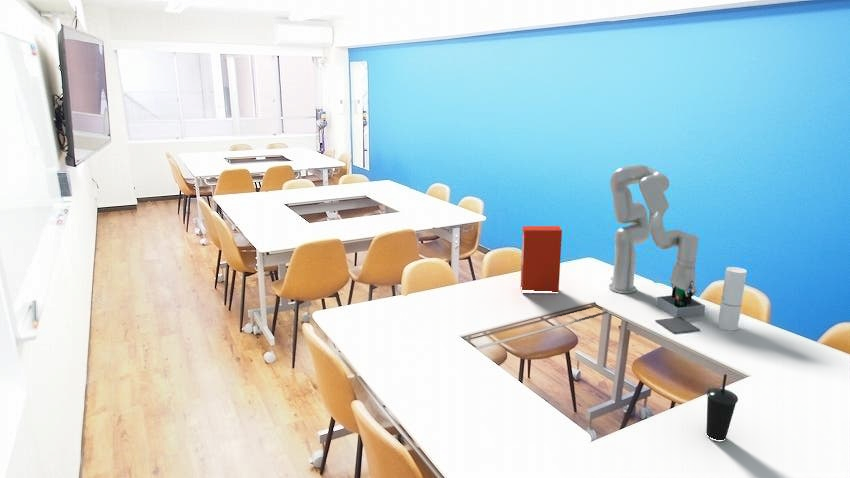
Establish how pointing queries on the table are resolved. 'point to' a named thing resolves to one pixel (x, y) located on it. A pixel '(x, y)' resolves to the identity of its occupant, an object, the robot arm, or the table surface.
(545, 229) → the file binder
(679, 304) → the soda can
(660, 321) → the mat
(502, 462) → the table surface
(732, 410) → the drinking cup
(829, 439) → the table surface
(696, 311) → the grey bin
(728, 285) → the cylindrical container
